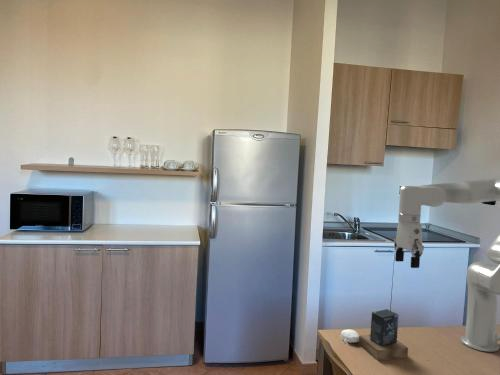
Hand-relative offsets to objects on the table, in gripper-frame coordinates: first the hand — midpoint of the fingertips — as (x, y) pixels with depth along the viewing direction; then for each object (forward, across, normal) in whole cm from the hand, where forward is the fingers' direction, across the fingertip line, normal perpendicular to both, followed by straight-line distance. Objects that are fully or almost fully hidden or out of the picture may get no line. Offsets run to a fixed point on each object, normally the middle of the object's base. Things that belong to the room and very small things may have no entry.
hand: (406, 264), depth 142 cm
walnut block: (+31, -4, +11) cm, 33 cm away
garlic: (+31, +5, +19) cm, 36 cm away
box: (+27, -5, +11) cm, 29 cm away
